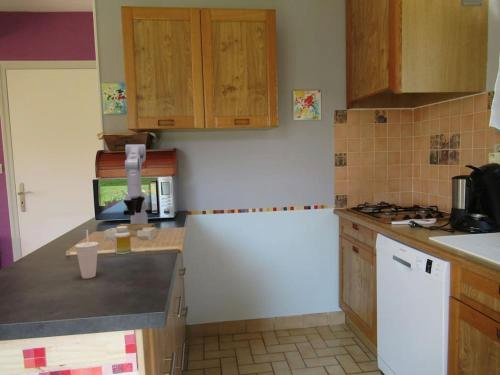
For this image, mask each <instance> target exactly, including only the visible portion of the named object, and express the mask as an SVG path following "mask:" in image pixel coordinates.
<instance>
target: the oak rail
mask: <svg viewBox="0 0 500 375" xmlns="http://www.w3.org/2000/svg"><path fill="white" fill-rule="evenodd" d="M119 226H127V227H128V230H127V232H129V233H130V237H138V236H137V231H138V230H143V228H155V223H148V224H131V223H119V224H117V225H116V227H119Z"/></svg>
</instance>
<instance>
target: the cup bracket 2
mask: <svg viewBox="0 0 500 375" xmlns="http://www.w3.org/2000/svg"><path fill="white" fill-rule="evenodd" d="M136 237H137V240H138V239H141V240H140V241H152V240H153V239H154V238H156V237H157V227H154V228H143V230H138V231H137V236H136ZM152 238H153V239H152ZM142 239H143V240H142Z"/></svg>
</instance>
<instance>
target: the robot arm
mask: <svg viewBox="0 0 500 375" xmlns="http://www.w3.org/2000/svg"><path fill="white" fill-rule="evenodd" d="M146 152H147V148H146V144H144V143H143V144H142V143H141V144H140V143H139V144H137V143H136V144H134V143H133V144H125V156H126V159H125V160H124V167H125V168H124V169H125V175H126V186H127V187H126V188H127V194H126V193H125V195H124V196H125V199H124V200H123V203H124V205H125V206H126V210H127V211H128V214H129V216H130V224H149V222H148V221H149V220H148V213H147V212H146V211H147V210H148V206H149V204H148V196H147V194H146V193H144V192H142V164H144V162H146V158H147V155H146V154H147V153H146Z"/></svg>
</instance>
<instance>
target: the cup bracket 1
mask: <svg viewBox="0 0 500 375" xmlns="http://www.w3.org/2000/svg"><path fill="white" fill-rule="evenodd" d="M116 233H117V231H116V227H111V228H108V229H106V230H104V231H103V237H104V238H103V239H104V241H115V234H116Z"/></svg>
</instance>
